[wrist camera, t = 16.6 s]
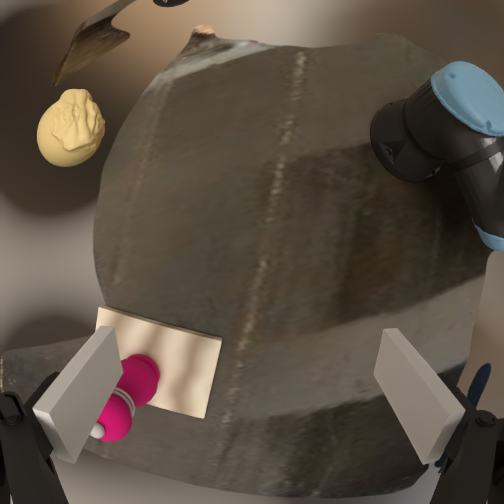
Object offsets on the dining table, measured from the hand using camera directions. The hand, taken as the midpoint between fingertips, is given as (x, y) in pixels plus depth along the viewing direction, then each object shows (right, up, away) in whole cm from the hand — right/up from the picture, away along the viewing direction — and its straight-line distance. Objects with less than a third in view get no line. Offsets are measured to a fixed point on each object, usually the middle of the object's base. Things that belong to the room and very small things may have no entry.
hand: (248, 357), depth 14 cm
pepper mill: (-17, -14, +31) cm, 38 cm away
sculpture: (-29, +24, +33) cm, 50 cm away
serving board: (-16, -13, +33) cm, 39 cm away
